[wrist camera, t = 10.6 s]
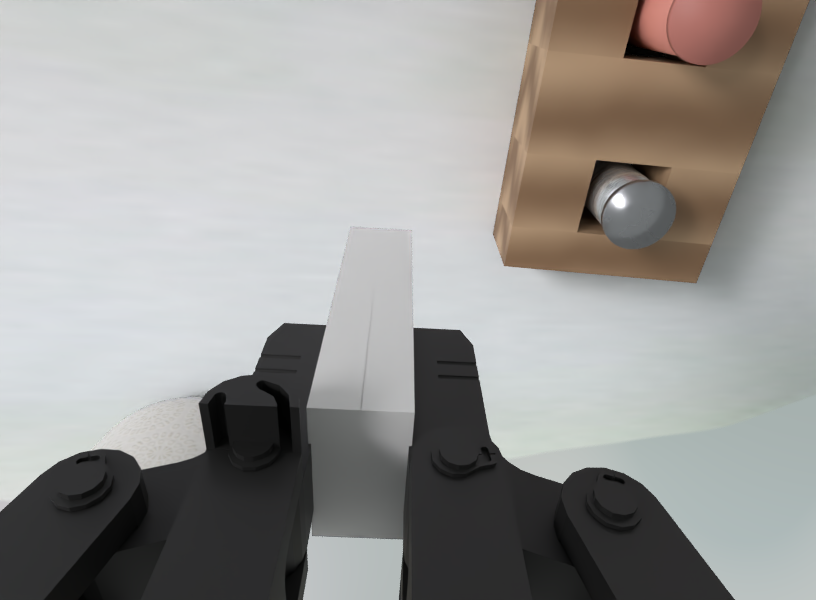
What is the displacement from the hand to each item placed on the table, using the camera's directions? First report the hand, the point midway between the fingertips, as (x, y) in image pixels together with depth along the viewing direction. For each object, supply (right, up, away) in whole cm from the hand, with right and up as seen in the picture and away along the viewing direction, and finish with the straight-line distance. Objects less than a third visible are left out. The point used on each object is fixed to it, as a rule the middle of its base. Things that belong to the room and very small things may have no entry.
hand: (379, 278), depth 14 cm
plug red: (+16, +18, +21) cm, 32 cm away
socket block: (+16, +14, +25) cm, 32 cm away
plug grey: (+15, +9, +28) cm, 33 cm away
